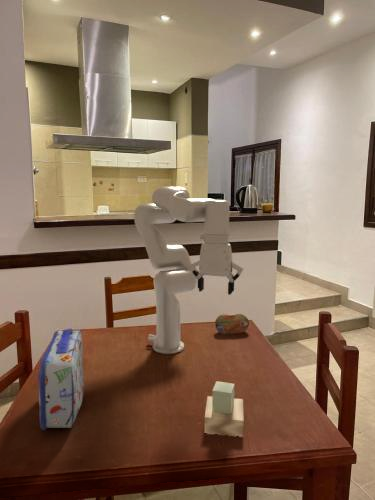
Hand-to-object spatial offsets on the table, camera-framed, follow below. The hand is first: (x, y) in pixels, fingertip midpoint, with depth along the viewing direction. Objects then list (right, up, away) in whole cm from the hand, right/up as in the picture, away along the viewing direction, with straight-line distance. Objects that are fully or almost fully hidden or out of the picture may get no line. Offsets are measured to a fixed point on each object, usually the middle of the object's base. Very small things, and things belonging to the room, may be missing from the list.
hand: (215, 292), depth 120 cm
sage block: (+1, -29, -19) cm, 35 cm away
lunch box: (-45, -33, -12) cm, 57 cm away
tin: (+11, -23, +46) cm, 53 cm away
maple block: (+1, -34, -18) cm, 39 cm away
